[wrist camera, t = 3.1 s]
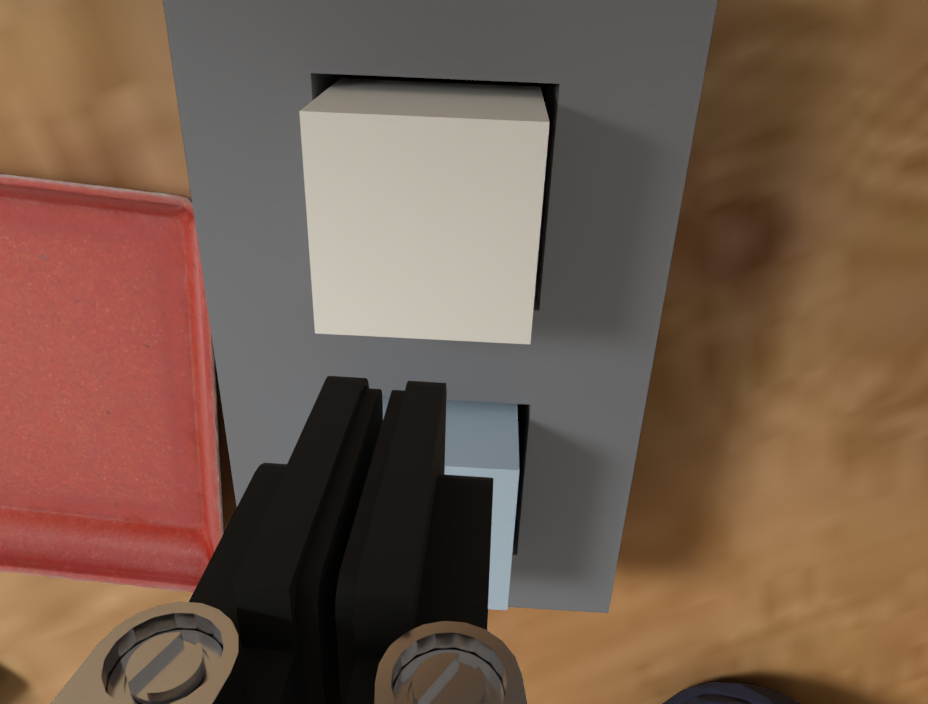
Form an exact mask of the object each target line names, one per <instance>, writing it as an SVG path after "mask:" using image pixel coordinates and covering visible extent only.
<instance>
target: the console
mask: <svg viewBox="0 0 928 704" xmlns="http://www.w3.org/2000/svg"><path fill="white" fill-rule="evenodd" d="M717 1H718V0H163V5H164V12H165V19H166V25H167V32H168V39H169V46H170V53H171V60H172V67H173V74H174V80H175V87H176V94H177V101H178V108H179V115H180V122H181V129H182V135H183V142H184V149H185V156H186V163H187V170H188V177H189V184H190V190H191V197H192V204H193V211H194V218H195V225H196V232H197V239H198V245H199V252H200V259H201V266H202V273H203V280H204V287H205V294H206V300H207V307H208V314H209V321H210V328H211V335H212V342H213V348H214V355H215V362H216V369H217V376H218V383H219V390H220V397H221V403H222V410H223V417H224V424H225V431H226V438H227V445H228V452H229V458H230V465H231V472H232V479H233V486H234V493H235V500H236V507H237V506H238V504H239V502H240V500H241V498H242V496H243V494H244V493H245V491H246V489H247V487H248V485H249V483H250V481H251V479H252V477H253V475H254V473H255V471H256V470H257V468H258V467H259V465H261V464H263V463H277V464H287V463H288V461H289V459H290V457H291V455H292V452H293V450H294V448H295V446H296V443H297V441H298V439H299V437H300V435H301V432H302V430H303V428H304V426H305V424H306V421H307V419H308V417H309V415H310V413H311V410H312V408H313V406H314V404H315V402H316V399H317V397H318V395H319V393H320V391H321V388H322V386H323V384H324V382H325V380H326V378H327V376H340V377H357V378H367V379H368V383H369V388H372V389H381V391H382V397H390V394H391V391H392V390H405V388H406V384H407V381H422V382H439V383H446V388H447V396H446V400H453V401H472V402H491V403H509V404H521V409H520V421H519V433H518V438H519V482H518V493H517V505H516V516H515V528H514V539H513V551H512V563H511V574H510V586H509V597H508V607H517V608H534V609H550V610H567V611H584V612H600V613H608V612H609V606H610V601H611V595H612V589H613V584H614V578H615V573H616V567H617V561H618V556H619V550H620V545H621V539H622V533H623V528H624V522H625V517H626V511H627V505H628V500H629V494H630V489H631V483H632V477H633V472H634V466H635V460H636V455H637V449H638V444H639V438H640V432H641V427H642V421H643V416H644V410H645V404H646V399H647V393H648V388H649V382H650V376H651V371H652V365H653V360H654V354H655V348H656V343H657V337H658V332H659V326H660V320H661V315H662V309H663V304H664V298H665V292H666V287H667V281H668V276H669V270H670V264H671V259H672V253H673V248H674V242H675V236H676V231H677V225H678V219H679V214H680V208H681V203H682V197H683V191H684V186H685V180H686V175H687V169H688V163H689V158H690V152H691V147H692V141H693V135H694V130H695V124H696V119H697V113H698V107H699V102H700V96H701V91H702V85H703V79H704V74H705V68H706V63H707V57H708V51H709V46H710V40H711V35H712V29H713V23H714V18H715V12H716V7H717ZM347 75H367V76H390V77H413V78H437V79H460V80H484V81H507V82H531V83H548V84H547V96H546V111H547V114H548V118H549V122H550V123H549V135H548V146H547V158H546V169H545V181H544V192H543V204H542V216H541V227H540V239H539V250H538V262H537V273H536V285H535V297H534V308H533V320H532V331H531V343H530V344H511V343H491V342H472V341H452V340H433V339H414V338H394V337H375V336H355V335H336V334H317V333H315V327H314V313H313V299H312V284H311V270H310V256H309V242H308V227H307V213H306V199H305V185H304V171H303V156H302V142H301V128H300V114H299V111H300V110H301V109H303V108H304V107H305V106H306V105H308V104H309V103H310V102H311V101H313V100H314V99H315V98H316V97H318V96H319V95H320V94H321V93H323V92H324V91H325V90H326V89H328V88H329V87H330V86H331V85H333V84H334V83H335V82H336V81H338V80H339V79H340V78H347Z"/></svg>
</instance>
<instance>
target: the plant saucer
mask: <svg viewBox="0 0 928 704" xmlns="http://www.w3.org/2000/svg"><path fill="white" fill-rule="evenodd" d="M223 534H224V526H223V508H222V490H221V471H220V455H219V434H218V416H217V393H216V375H215V355H214V348H213V342H212V335H211V328H210V321H209V314H208V307H207V300H206V294H205V287H204V280H203V273H202V266H201V259H200V252H199V245H198V239H197V232H196V225H195V218H194V211H193V204H192V200H191V199H190V198H188V197H185V196H182V195H175V194H167V193H159V192H150V191H142V190H134V189H124V188H115V187H107V186H99V185H92V184H83V183H74V182H65V181H57V180H49V179H41V178H34V177H26V176H18V175H9V174H1V173H0V572H11V573H21V574H28V575H41V576H46V577H54V578H68V579H74V580H84V581H95V582H105V583H111V584H121V585H133V586H139V587H149V588H158V589H166V590H173V591H187V592H194V591H195V589H196V587H197V585H198V583H199V581H200V579H201V577H202V575H203V573H204V571H205V569H206V567H207V565H208V563H209V561H210V559H211V557H212V555H213V553H214V551H215V549H216V548H217V546H218V544H219V542H220V540H221V538H222V536H223Z"/></svg>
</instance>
